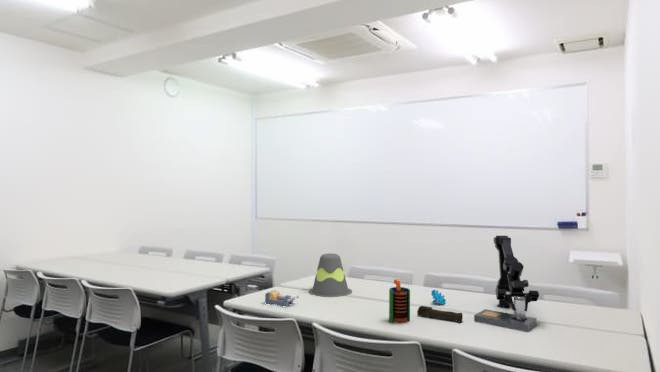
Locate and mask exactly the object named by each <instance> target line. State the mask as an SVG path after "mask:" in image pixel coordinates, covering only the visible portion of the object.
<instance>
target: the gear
mask: <svg viewBox="0 0 660 372" xmlns="http://www.w3.org/2000/svg"><path fill="white" fill-rule="evenodd" d="M430 295H431V296H432V299H433V301H432V304H434V303H438V304H439V305H441V306H444V305H445V304H446V303H447V300H446V298H445V295H444V294H442V292H439V290H436V289H433V290H431V294H430Z"/></svg>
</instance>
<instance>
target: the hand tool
mask: <svg viewBox="0 0 660 372" xmlns="http://www.w3.org/2000/svg"><path fill="white" fill-rule="evenodd" d="M416 313H417V316H419V317H422V318H427V319H430V318H434V319H435V318H437V319H440V320H441V319H442V320H447V321H452V322H459V323H460V324H461V323H462V321H463V312H454V311H450V310H449V311H446V310H441V309H435V308H433V307H431V306H426V305H420V306H419V307H418V309H417V312H416Z"/></svg>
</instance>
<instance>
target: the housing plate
mask: <svg viewBox="0 0 660 372" xmlns="http://www.w3.org/2000/svg"><path fill="white" fill-rule="evenodd" d="M525 319H526V320H525V321H519V320H514V313H508V312H502V311H497V310H492V309H487V308H485V309H483V310H481V311H479V312H478V313H475V314H474V315H473V321H474V322H476V323H480V324H486V325H491V326H497V327H500V328H501V327H502V328H506V329H511V330H516V331H521V332H525V333H526V332H527V333H528V332H530V331H531V330H532V329H533V328H535V327H536V326H537V325H538V324H537V322H538V320H537V318H536V317H530V316H526V315H525Z"/></svg>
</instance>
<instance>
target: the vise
mask: <svg viewBox="0 0 660 372" xmlns="http://www.w3.org/2000/svg"><path fill="white" fill-rule="evenodd" d="M280 293H281V292H280V291H278V290H276V289H275V290H271V291H268V292H266V293H265V295H264V296H265V297H264V298H265V299H264V304H265V303H266V304H271V305H272V304H277V305H276V306H278V305H281V306H287V307H289V304H292V305H294V301H296V299H299V297H300V296H299V295H298V294H297V295H296V296H291V295H290V294H287V295H282V294H280ZM266 304H265V305H266ZM281 306H280V307H281Z"/></svg>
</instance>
